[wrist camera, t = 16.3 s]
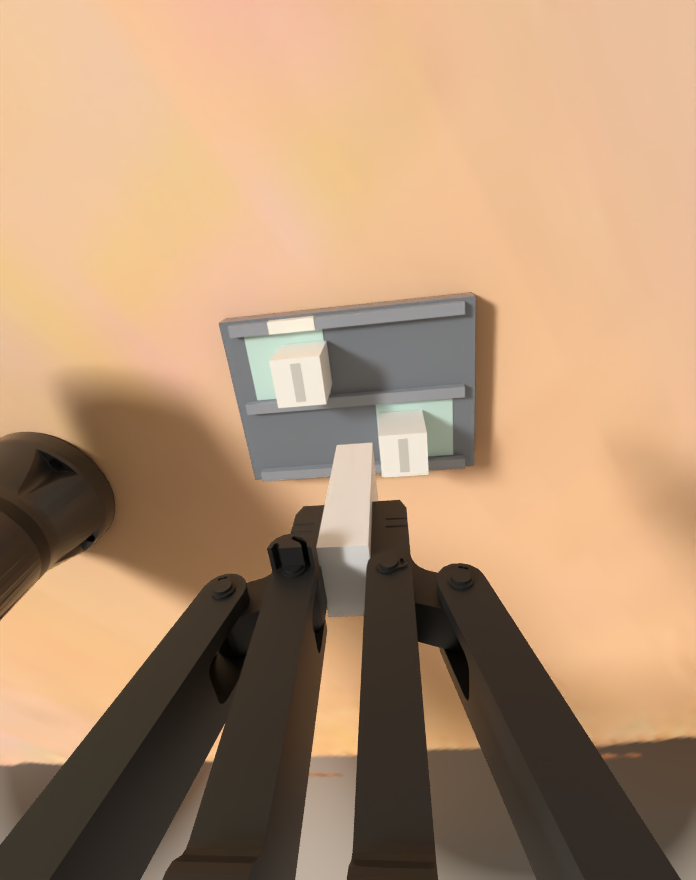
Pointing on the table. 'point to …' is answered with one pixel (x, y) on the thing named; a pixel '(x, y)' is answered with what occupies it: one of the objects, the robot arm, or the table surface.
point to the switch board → (358, 381)
